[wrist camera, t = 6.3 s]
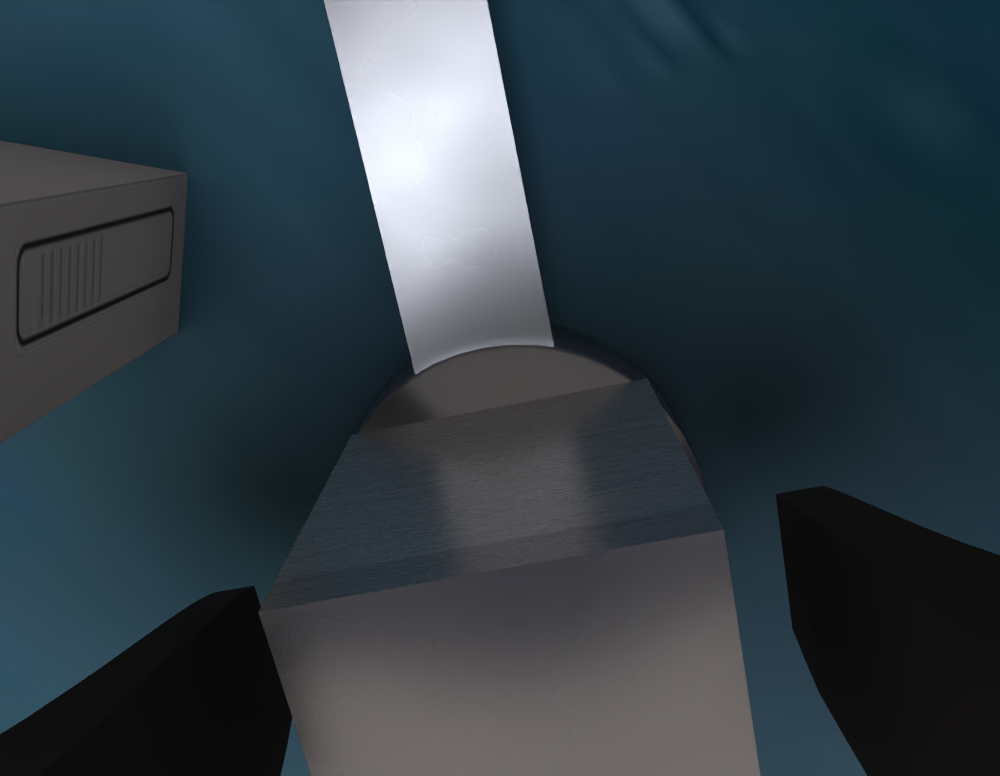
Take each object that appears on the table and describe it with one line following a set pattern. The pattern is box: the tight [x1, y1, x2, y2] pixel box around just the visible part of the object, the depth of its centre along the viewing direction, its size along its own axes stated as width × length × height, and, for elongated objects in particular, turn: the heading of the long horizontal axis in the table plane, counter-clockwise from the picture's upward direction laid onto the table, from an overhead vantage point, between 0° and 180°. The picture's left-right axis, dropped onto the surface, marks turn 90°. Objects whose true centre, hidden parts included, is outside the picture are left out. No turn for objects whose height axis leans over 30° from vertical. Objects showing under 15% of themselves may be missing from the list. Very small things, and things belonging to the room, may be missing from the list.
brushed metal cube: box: [258, 378, 760, 776], centre depth 12 cm, size 5×5×5 cm
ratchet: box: [324, 0, 707, 495], centre depth 12 cm, size 20×6×4 cm, turn 12°
